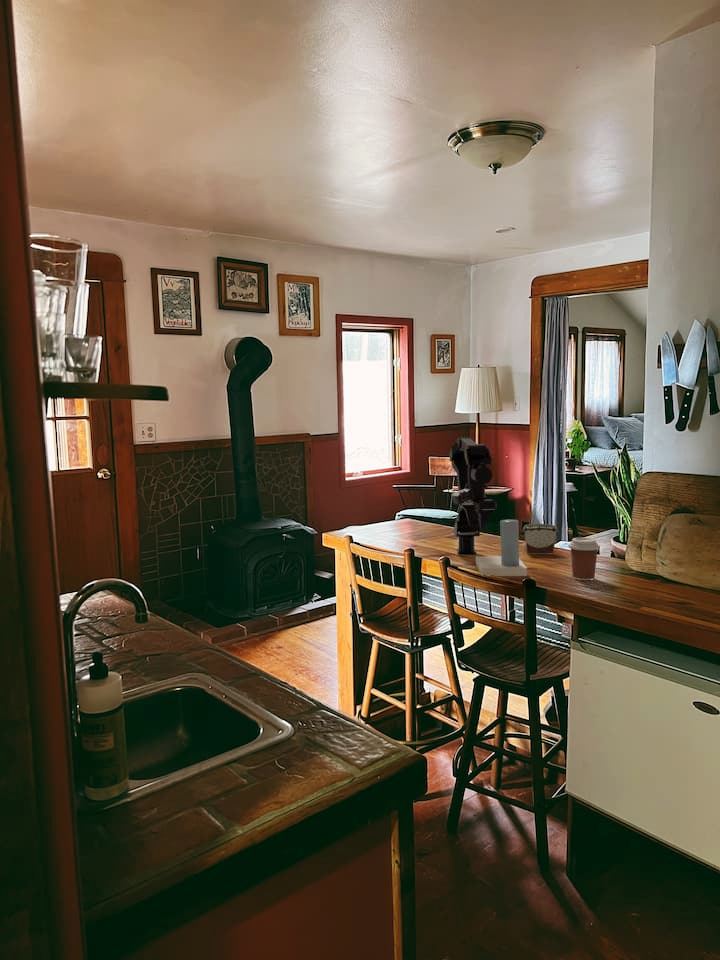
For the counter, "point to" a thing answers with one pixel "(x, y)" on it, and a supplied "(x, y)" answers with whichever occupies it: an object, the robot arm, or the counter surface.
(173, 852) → the counter surface
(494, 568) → the shelf board
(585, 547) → the coffee cup
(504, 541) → the grey pillar
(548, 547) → the food container
